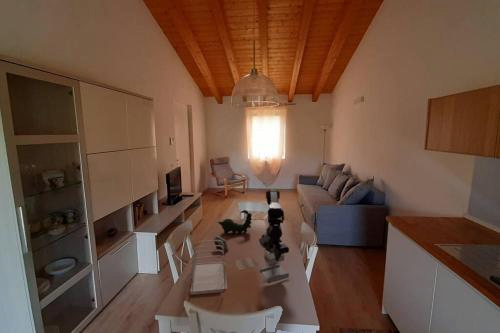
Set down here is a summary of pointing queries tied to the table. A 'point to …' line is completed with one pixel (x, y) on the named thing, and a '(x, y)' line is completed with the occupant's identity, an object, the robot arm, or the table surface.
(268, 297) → the table surface
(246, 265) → the stand
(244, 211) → the toy figurine
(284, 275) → the cabinet frame
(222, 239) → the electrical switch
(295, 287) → the table surface
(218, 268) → the file sorter
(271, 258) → the grey drawer
